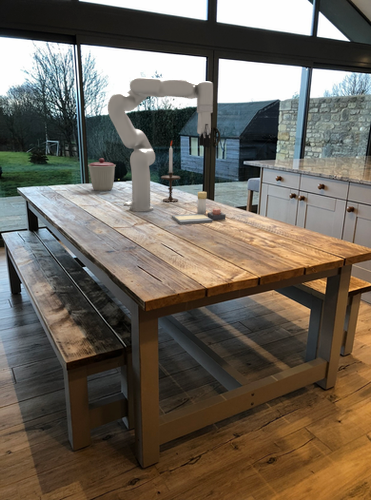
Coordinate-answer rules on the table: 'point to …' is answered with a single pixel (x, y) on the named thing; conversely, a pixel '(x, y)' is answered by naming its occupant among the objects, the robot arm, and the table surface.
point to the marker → (201, 202)
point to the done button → (216, 211)
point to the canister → (102, 175)
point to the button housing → (216, 216)
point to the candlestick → (170, 178)
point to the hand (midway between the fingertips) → (204, 146)
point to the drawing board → (191, 218)
